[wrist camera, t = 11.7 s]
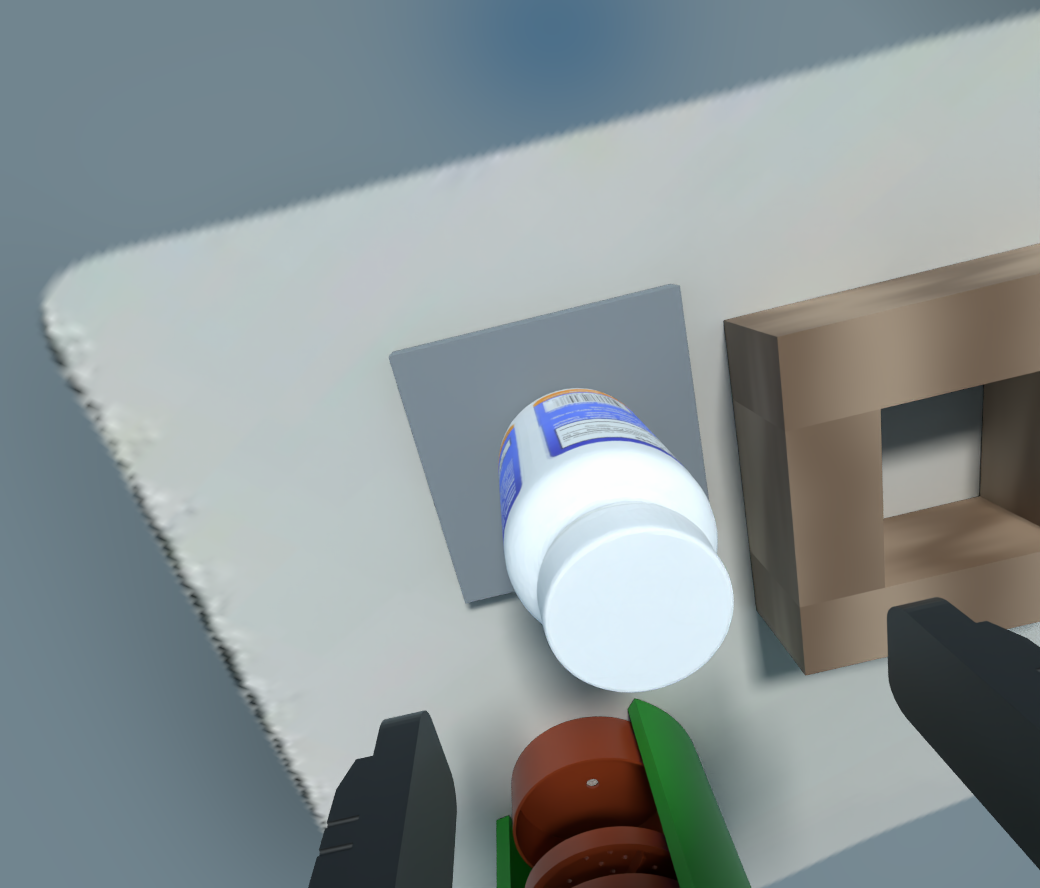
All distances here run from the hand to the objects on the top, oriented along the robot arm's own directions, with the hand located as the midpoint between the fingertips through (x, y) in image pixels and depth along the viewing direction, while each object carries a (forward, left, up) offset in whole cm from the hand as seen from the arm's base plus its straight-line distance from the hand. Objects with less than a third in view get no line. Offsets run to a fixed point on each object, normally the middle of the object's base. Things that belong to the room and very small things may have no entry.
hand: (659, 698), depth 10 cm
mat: (0, 0, -13) cm, 13 cm away
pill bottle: (0, 0, -12) cm, 12 cm away
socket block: (-13, +3, -13) cm, 18 cm away
